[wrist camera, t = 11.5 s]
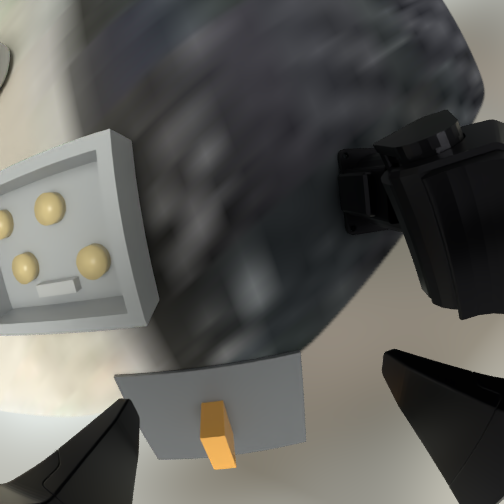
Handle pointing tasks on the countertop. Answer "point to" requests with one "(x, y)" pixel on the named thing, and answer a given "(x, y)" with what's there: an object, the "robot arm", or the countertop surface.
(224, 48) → the countertop surface
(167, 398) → the grey lid
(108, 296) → the tub
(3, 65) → the can
